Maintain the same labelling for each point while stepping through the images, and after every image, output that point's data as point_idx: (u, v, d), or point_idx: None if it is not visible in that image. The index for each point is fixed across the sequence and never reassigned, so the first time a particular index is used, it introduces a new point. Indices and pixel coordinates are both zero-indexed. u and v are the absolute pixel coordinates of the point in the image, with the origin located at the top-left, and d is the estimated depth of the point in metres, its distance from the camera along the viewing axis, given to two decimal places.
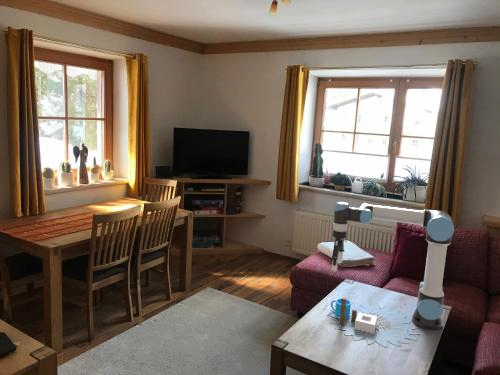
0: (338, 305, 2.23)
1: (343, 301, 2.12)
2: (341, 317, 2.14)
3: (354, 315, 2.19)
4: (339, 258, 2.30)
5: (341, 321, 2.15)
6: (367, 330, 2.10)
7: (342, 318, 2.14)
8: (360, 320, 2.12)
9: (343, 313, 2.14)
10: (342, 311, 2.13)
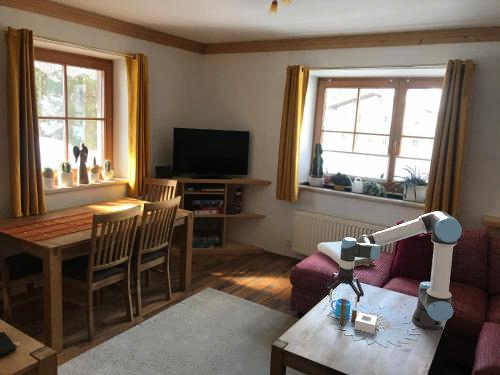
0: (338, 305, 2.23)
1: (343, 301, 2.12)
2: (341, 317, 2.14)
3: (354, 315, 2.19)
4: None
5: (341, 321, 2.15)
6: (367, 330, 2.10)
7: (342, 318, 2.14)
8: (360, 320, 2.12)
9: (343, 313, 2.14)
10: (342, 311, 2.13)
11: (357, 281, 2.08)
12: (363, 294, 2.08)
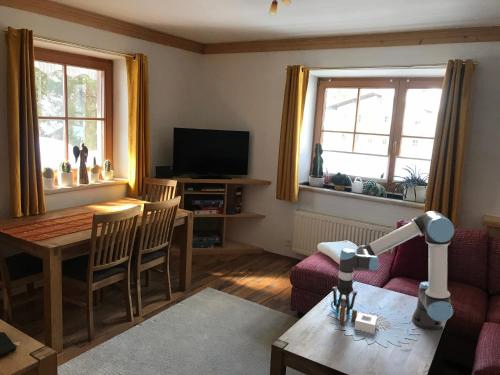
0: None
1: (343, 301, 2.12)
2: (341, 317, 2.14)
3: (354, 315, 2.19)
4: (345, 314, 2.15)
5: (341, 321, 2.15)
6: (367, 330, 2.10)
7: (342, 318, 2.14)
8: (360, 320, 2.12)
9: (343, 313, 2.14)
10: (342, 311, 2.13)
11: (354, 295, 2.09)
12: (352, 307, 2.12)
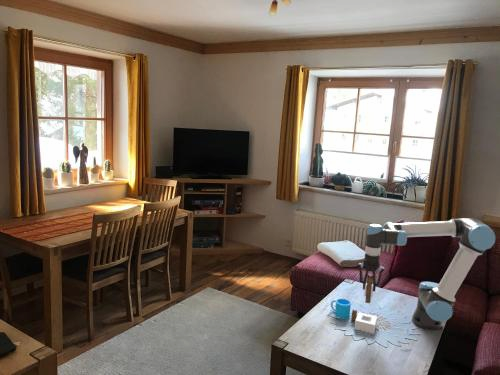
0: (338, 305, 2.23)
1: (370, 277, 2.09)
2: (367, 294, 2.11)
3: (354, 315, 2.19)
4: (371, 291, 2.11)
5: (367, 298, 2.11)
6: (367, 330, 2.10)
7: (368, 295, 2.10)
8: (360, 320, 2.12)
9: (369, 289, 2.10)
10: (368, 287, 2.10)
11: (381, 271, 2.06)
12: None
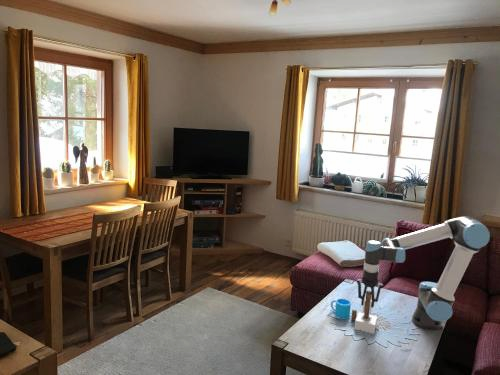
0: (338, 305, 2.23)
1: (368, 293, 2.10)
2: (366, 310, 2.12)
3: (354, 315, 2.19)
4: None
5: (366, 314, 2.12)
6: (367, 330, 2.10)
7: (367, 311, 2.12)
8: (360, 320, 2.12)
9: (368, 305, 2.11)
10: (367, 303, 2.11)
11: (380, 287, 2.07)
12: (377, 300, 2.10)
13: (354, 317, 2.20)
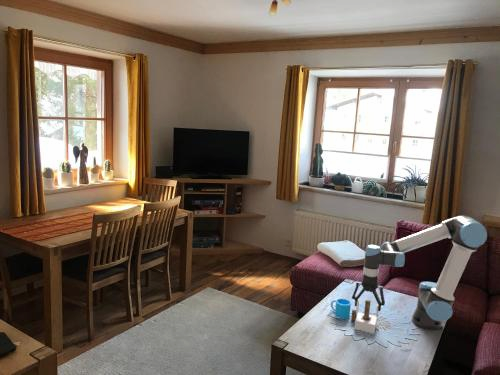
0: (338, 305, 2.23)
1: (367, 303, 2.11)
2: (365, 319, 2.13)
3: (354, 315, 2.19)
4: None
5: None
6: (367, 330, 2.10)
7: None
8: (360, 320, 2.12)
9: (367, 315, 2.12)
10: (366, 313, 2.12)
11: (381, 290, 2.07)
12: (384, 303, 2.09)
13: (354, 317, 2.20)
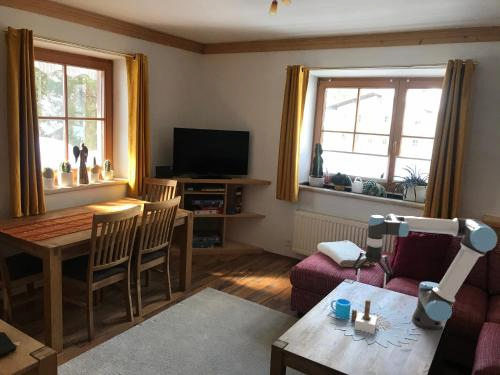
0: (338, 305, 2.23)
1: (367, 303, 2.11)
2: (365, 319, 2.13)
3: (354, 315, 2.19)
4: (384, 280, 2.08)
5: None
6: (367, 330, 2.10)
7: None
8: (360, 320, 2.12)
9: (367, 315, 2.12)
10: (366, 313, 2.12)
11: (386, 259, 2.05)
12: (392, 272, 2.05)
13: (354, 317, 2.20)
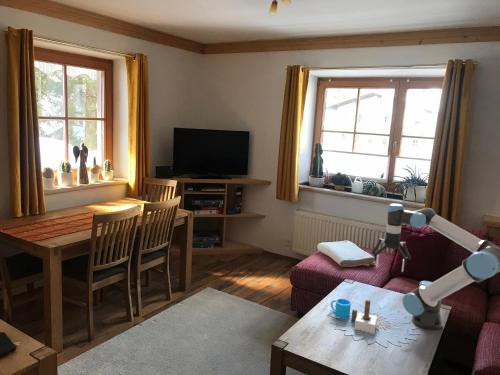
0: (338, 305, 2.23)
1: (367, 303, 2.11)
2: (365, 319, 2.13)
3: (354, 315, 2.19)
4: (402, 266, 2.19)
5: None
6: (367, 330, 2.10)
7: None
8: (360, 320, 2.12)
9: (367, 315, 2.12)
10: (366, 313, 2.12)
11: (404, 245, 2.16)
12: (410, 258, 2.16)
13: (354, 317, 2.20)
